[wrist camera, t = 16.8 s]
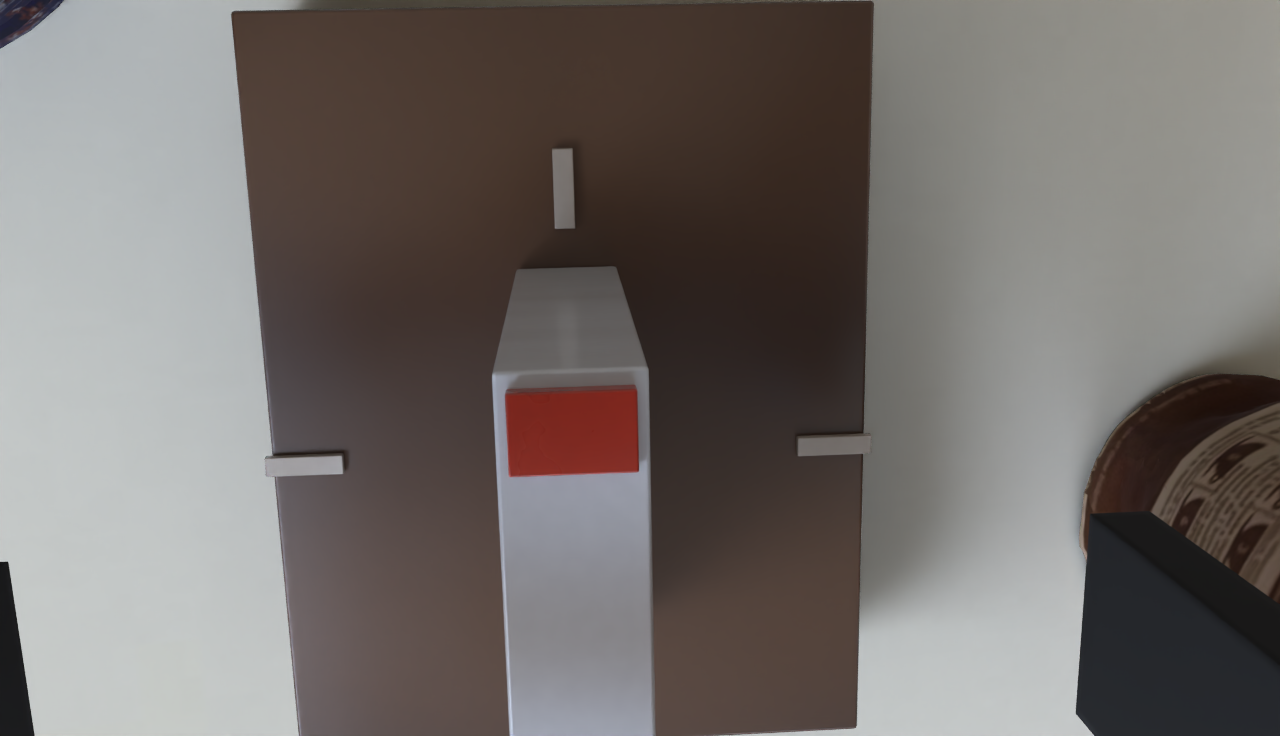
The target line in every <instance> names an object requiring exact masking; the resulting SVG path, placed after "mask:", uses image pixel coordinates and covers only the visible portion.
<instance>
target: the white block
mask: <svg viewBox="0 0 1280 736" xmlns="http://www.w3.org/2000/svg"><path fill="white" fill-rule="evenodd" d="M492 389H493V409H494V429H495V449H496V470H497V490H498V510H499V530H500V550H501V571H502V591H503V611H504V631H505V652H506V672H507V692H508V712H509V733H510V736H656V734H655V680H654V627H653V573H652V519H651V465H650V411H649V369H648V366H647V363H646V360H645V357H644V354H643V350H642V347H641V344H640V341H639V338H638V335H637V331H636V328H635V325H634V322H633V319H632V316H631V312H630V309H629V306H628V303H627V300H626V297H625V293H624V290H623V287H622V284H621V281H620V278H619V274H618V271H617V268H616V267H614V266H607V267H573V268H538V269H518V270H517V271H516V274H515V279H514V283H513V287H512V291H511V296H510V300H509V304H508V309H507V313H506V317H505V321H504V326H503V330H502V334H501V338H500V343H499V347H498V351H497V356H496V360H495V364H494V368H493V373H492Z"/></svg>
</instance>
